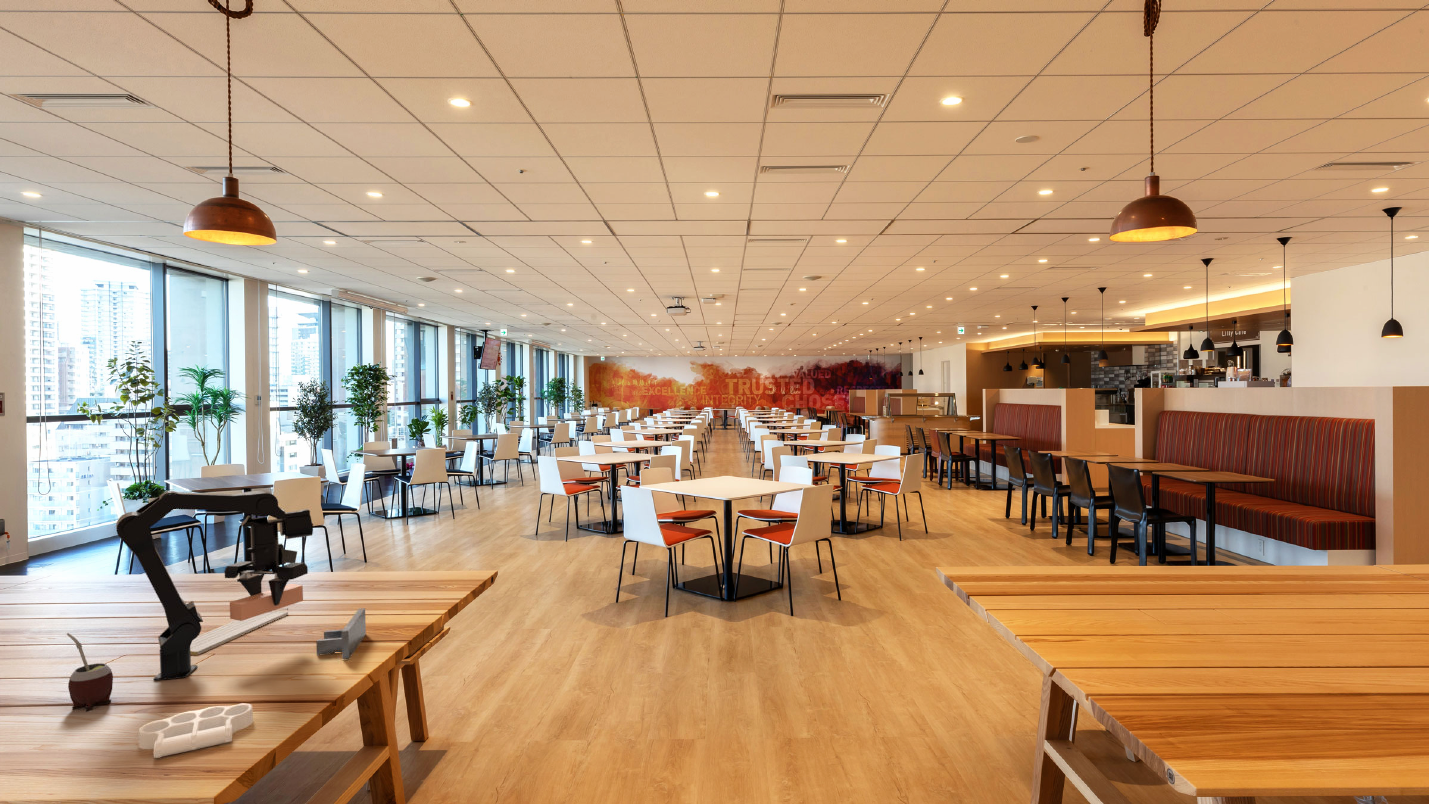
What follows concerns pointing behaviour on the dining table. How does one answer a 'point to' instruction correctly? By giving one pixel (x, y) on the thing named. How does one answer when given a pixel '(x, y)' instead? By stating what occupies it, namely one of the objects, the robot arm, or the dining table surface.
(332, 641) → the bracket
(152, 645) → the dining table surface
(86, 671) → the mate gourd
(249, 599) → the rail
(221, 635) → the baseboard
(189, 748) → the knuckle duster
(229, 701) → the dining table surface
